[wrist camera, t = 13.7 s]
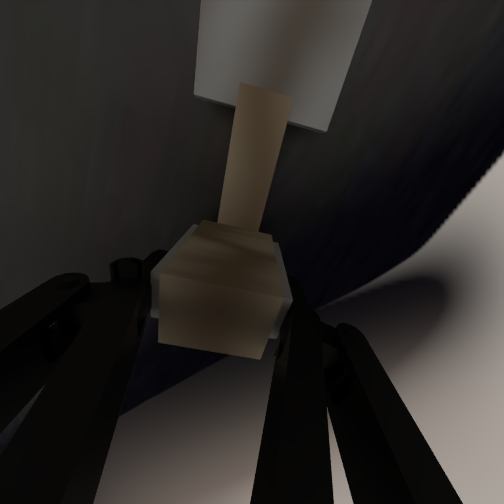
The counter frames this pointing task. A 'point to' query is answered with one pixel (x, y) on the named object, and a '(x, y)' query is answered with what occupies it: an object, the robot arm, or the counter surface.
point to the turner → (253, 159)
